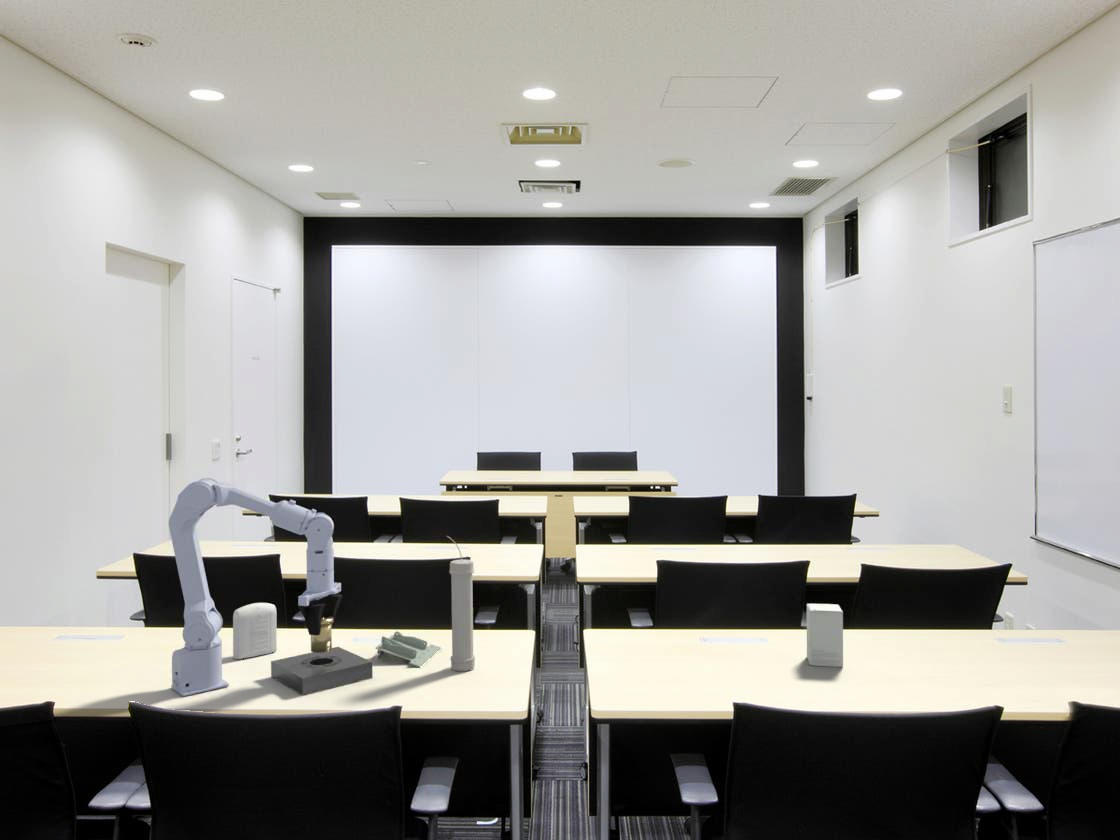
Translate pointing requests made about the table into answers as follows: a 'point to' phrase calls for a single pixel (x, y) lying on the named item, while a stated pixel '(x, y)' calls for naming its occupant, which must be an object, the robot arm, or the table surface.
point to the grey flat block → (321, 670)
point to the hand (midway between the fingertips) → (320, 631)
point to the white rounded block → (254, 630)
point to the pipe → (462, 614)
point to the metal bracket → (407, 648)
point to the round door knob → (323, 636)
